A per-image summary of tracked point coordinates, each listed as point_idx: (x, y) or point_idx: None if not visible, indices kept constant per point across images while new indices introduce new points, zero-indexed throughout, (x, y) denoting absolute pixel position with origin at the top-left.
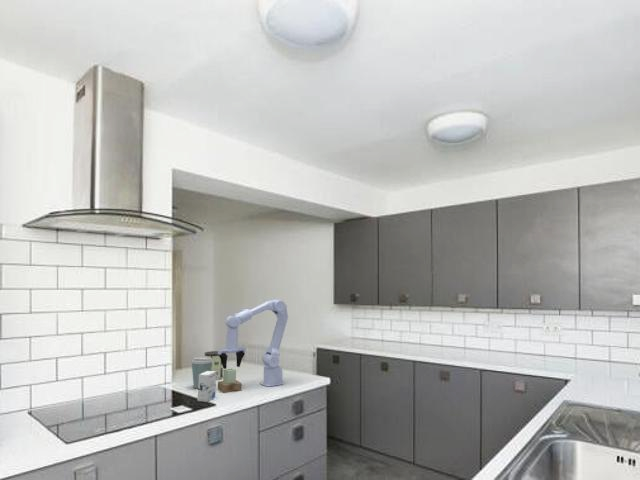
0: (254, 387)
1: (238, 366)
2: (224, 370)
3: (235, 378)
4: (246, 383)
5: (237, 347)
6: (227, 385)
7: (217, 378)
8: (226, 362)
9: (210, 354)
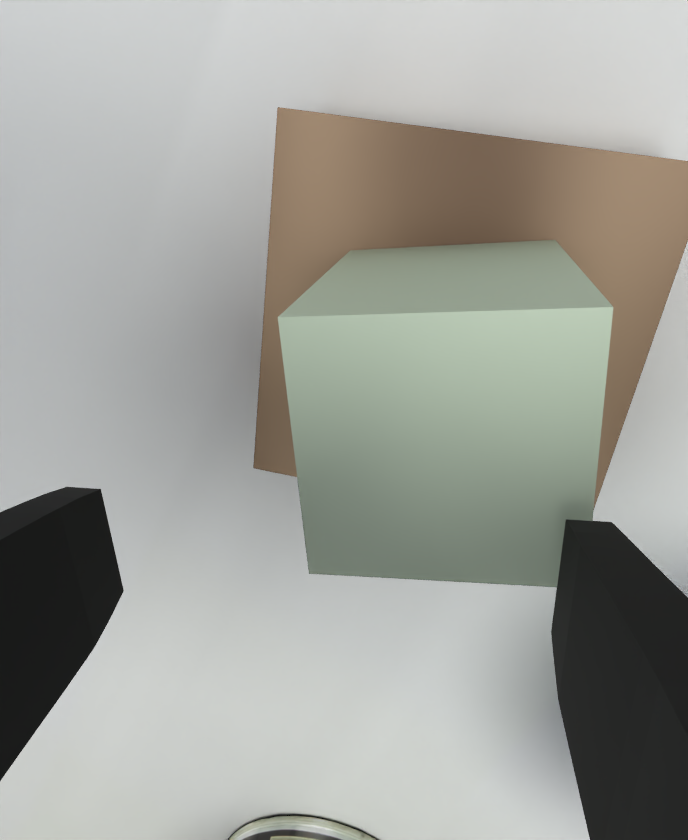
0: (45, 196)
1: (96, 513)
2: None
3: (346, 264)
4: (78, 485)
5: None
6: (613, 152)
7: (311, 834)
8: (653, 660)
9: None
